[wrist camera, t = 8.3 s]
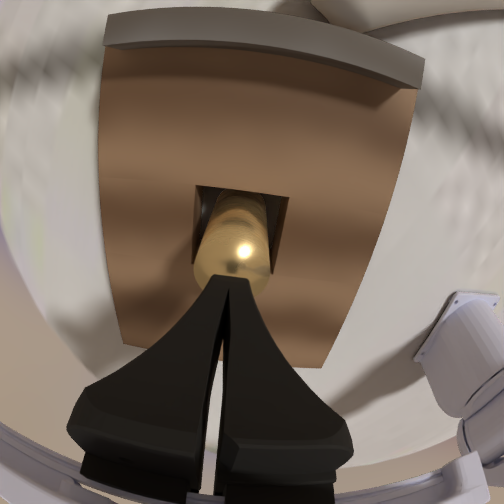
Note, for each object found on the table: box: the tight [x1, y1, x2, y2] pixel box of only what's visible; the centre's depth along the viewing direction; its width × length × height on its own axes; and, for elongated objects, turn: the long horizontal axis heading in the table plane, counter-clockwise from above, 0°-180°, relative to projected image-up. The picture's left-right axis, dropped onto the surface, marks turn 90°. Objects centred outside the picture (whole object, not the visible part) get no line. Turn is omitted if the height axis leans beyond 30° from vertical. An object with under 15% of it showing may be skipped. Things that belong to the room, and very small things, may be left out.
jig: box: [98, 7, 425, 368], centre depth 16 cm, size 22×16×5 cm
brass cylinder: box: [194, 188, 270, 297], centre depth 15 cm, size 3×3×7 cm
